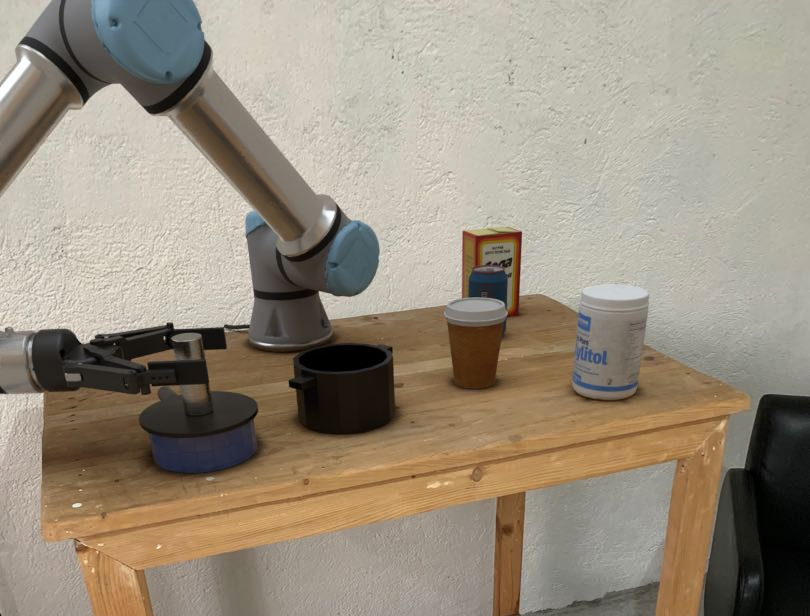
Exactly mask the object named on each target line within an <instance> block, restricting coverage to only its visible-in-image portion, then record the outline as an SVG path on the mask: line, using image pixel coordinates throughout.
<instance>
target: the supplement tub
mask: <svg viewBox="0 0 810 616" xmlns="http://www.w3.org/2000/svg"><path fill="white" fill-rule="evenodd" d="M579 301H580V302H579V307H578V317H577V327H576V337H575V347H574V348H575V349H574V356H573V368H572V380H571V385H572V388H573V389H572V390H574V391H575V392H576V393H577V394H578V395H581V396H582V397H585V398H588V399H592V400H602V401H617V400H618V401H619V400H623V399H627V398H629V397H631V396H633V395H634V394H635V393H636V392H637V390H638V384H639V377H640V371H641V363H642V356H643V349H644V342H645V335H646V329H647V323H648V322H647V321H648V315H649V314H648V313H649V305H650V302H649V301H650V292H649V290H647V289H645V288H643V287H640V286H636V285H630V284H621V283H602V284H601V283H600V284H594V285H589V286H586V287H585V288H583V289H582V291H581V298H580V300H579Z"/></svg>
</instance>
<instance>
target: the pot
mask: <svg viewBox="0 0 810 616" xmlns="http://www.w3.org/2000/svg"><path fill="white" fill-rule="evenodd" d="M393 348H394V347H393V346H391V345H386V344H381V343H379V344H377V345H376V344H370V343H359V342H358V343H357V342H342V343H341V342H340V343H329V344H324V345H322V346H318V347H313V348H310V349H307V350H301V351H300V352H298V354H296V355H295V356H293V358H292V362H293V363H292V365H293V376H294V377H293V378H290V379H288V381H287V382H288V388H290V389H294V390H295V394H296V405H297V414H298V421H299V423H300V424H301V425H302V426H303V427H304V428H306V429H308V430H310V431H313V432H316V433H322V434H328V435H329V434H330V435H352V434H353V435H354V434H359V433H366V432H369V431H373V430H377V429H379V428H382V427H383V426H386V425H388V424H389V423H390V422H392V420H393V419H394V417H395V413H396V397H395V375H394V374H395V372H394V371H395V370H394V369H395V368H394V356H393V353H394V349H393Z"/></svg>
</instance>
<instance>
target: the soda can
mask: <svg viewBox="0 0 810 616" xmlns="http://www.w3.org/2000/svg"><path fill="white" fill-rule="evenodd" d="M504 270H505V268H504V267H502V266H498V265H480V266H475V267H473V268H472V273H471V275H470V277H469V286H468V298H474V297H479V298H491V299H497V300H500V301H502V302H504V304H505V309H506V311H507V287H508V278H507V275H506V273H505V271H504ZM507 318H508V316H506V319H505V321H504V325H503V331H502V336H503V335H504V334H505V332H506V330H507Z"/></svg>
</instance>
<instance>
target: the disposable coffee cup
mask: <svg viewBox="0 0 810 616" xmlns="http://www.w3.org/2000/svg"><path fill="white" fill-rule="evenodd" d="M507 314H508V312H507V311H506V309H505V304H504V302H502V301H500V300H497V299H491V298H479V297H474V298H462V297H461V298H457V299H453V300H450V301H449V302H447V304H446V308H445V310H444V312H443V316H444V319H445V322H446V324H447V331H448V340H449V348H450V358H451V364H452V365H451V366H452V373H453V382H454V384H455V386H457V387H460V388H464V389H473V390H475V389H485V388H489V387H492V386H493V385H494V384H495V382H496V376H497V371H498V363H499V357H500V350H501V343H502V337H503V335H502V331H503V325H504V321H505V319H506V320H507V317H508V316H507ZM506 316H507V317H506Z"/></svg>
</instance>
